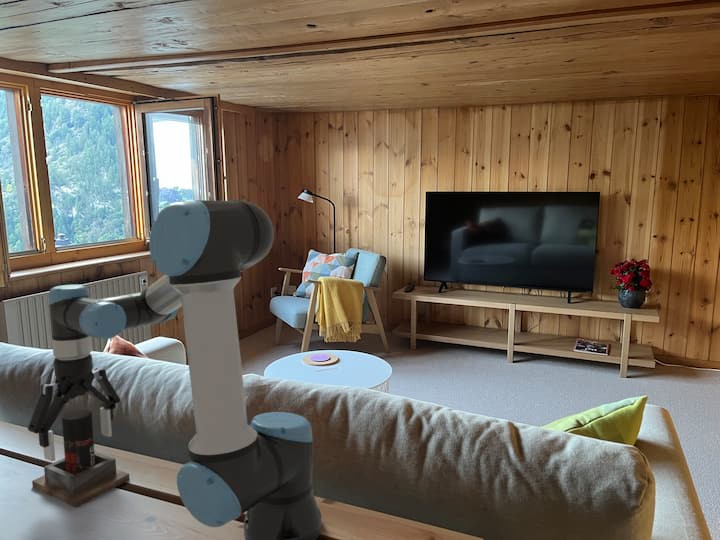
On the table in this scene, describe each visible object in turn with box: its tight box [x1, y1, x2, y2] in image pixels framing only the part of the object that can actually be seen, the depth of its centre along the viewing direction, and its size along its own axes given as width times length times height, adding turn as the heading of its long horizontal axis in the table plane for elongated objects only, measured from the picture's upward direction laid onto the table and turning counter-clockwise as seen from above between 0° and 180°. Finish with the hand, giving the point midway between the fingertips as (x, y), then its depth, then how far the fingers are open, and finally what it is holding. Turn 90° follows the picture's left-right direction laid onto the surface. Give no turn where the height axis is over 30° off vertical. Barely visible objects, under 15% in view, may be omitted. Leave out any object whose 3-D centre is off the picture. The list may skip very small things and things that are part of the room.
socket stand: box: [31, 450, 131, 508], centre depth 124 cm, size 16×13×5 cm
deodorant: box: [61, 408, 95, 475], centre depth 123 cm, size 6×6×15 cm
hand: (79, 446), depth 123 cm, fingers open, 13 cm apart
